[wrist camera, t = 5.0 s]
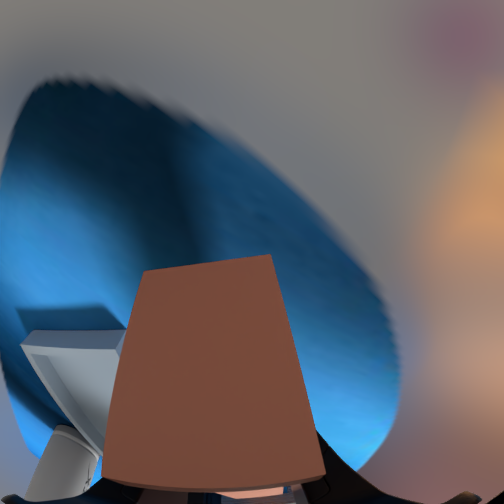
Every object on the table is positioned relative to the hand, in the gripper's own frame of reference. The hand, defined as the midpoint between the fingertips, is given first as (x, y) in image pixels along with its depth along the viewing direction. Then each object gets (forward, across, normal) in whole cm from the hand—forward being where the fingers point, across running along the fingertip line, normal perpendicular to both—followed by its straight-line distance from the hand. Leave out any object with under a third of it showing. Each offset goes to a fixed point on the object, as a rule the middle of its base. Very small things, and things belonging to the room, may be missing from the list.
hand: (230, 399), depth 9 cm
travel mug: (+7, +22, +18) cm, 29 cm away
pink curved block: (+3, 0, +2) cm, 4 cm away
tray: (+7, +12, +11) cm, 18 cm away
